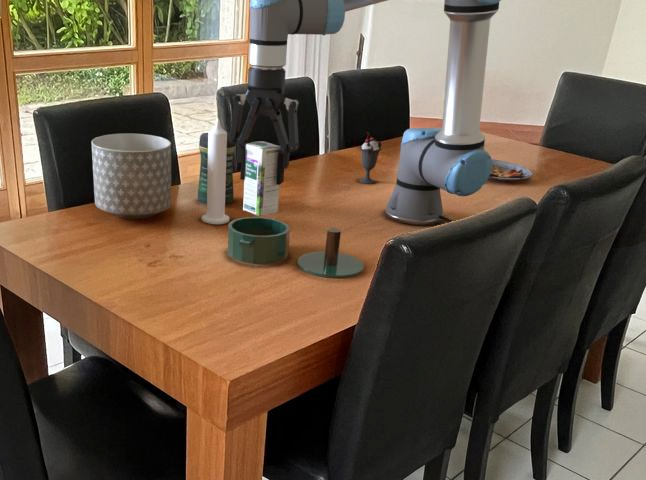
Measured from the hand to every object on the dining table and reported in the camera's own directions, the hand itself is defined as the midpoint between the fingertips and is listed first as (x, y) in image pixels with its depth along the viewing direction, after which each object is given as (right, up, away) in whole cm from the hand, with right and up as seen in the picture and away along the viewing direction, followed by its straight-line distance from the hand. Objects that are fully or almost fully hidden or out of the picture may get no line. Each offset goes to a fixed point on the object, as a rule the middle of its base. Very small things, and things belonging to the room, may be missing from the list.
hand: (261, 180), depth 161 cm
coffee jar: (-12, +5, +43) cm, 45 cm away
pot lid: (+15, -18, +4) cm, 24 cm away
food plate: (+76, +24, +85) cm, 116 cm away
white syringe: (-12, -3, +29) cm, 31 cm away
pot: (-1, -15, +8) cm, 17 cm away
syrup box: (0, -6, +3) cm, 7 cm away
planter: (-33, -1, +29) cm, 44 cm away
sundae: (+32, +18, +69) cm, 78 cm away
